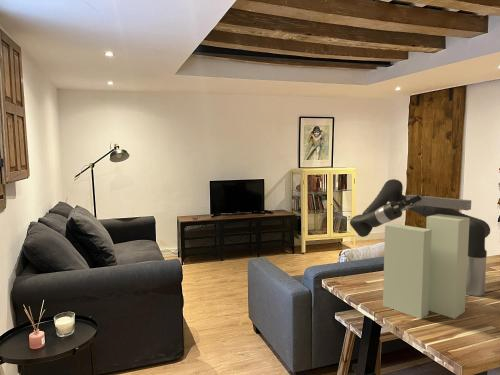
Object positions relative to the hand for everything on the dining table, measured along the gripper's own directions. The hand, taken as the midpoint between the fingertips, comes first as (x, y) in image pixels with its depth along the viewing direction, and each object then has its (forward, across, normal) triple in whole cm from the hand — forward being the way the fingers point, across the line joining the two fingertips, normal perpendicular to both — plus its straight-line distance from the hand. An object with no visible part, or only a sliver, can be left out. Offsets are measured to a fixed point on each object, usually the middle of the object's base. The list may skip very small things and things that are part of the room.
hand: (421, 196), depth 152 cm
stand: (-13, 0, +44) cm, 46 cm away
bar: (+4, 0, +6) cm, 7 cm away
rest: (-22, -12, +39) cm, 47 cm away
